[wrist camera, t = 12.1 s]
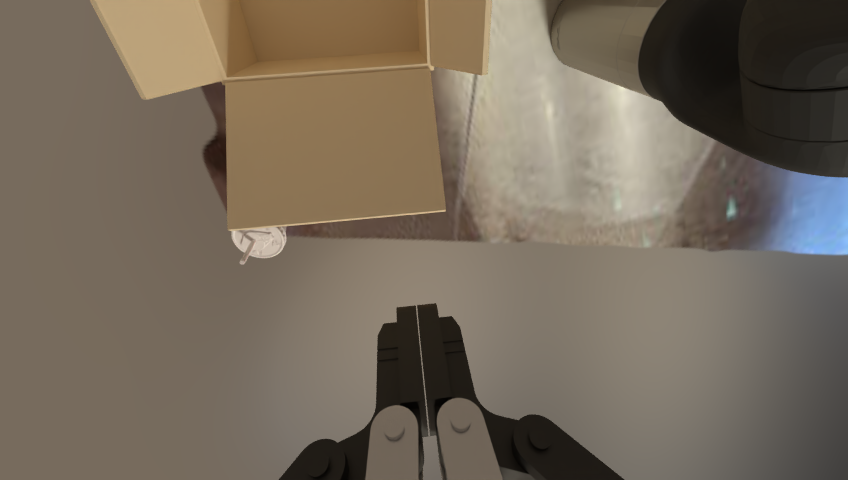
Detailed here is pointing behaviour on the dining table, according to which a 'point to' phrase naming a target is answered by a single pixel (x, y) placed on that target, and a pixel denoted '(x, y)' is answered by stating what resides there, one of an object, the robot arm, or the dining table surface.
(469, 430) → the robot arm
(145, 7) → the carton
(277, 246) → the smoothie
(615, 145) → the dining table surface
